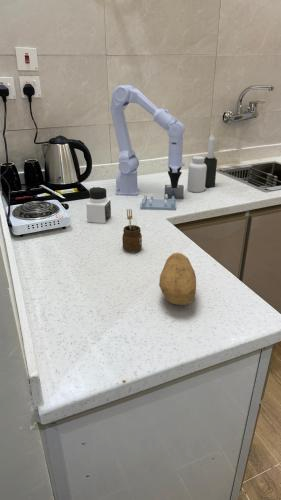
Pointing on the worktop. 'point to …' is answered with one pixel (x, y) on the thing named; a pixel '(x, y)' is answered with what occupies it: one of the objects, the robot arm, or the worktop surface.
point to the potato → (178, 280)
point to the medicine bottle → (98, 206)
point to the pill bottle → (197, 174)
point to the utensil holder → (132, 236)
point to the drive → (174, 191)
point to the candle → (210, 163)
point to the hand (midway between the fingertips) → (174, 185)
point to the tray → (158, 203)
